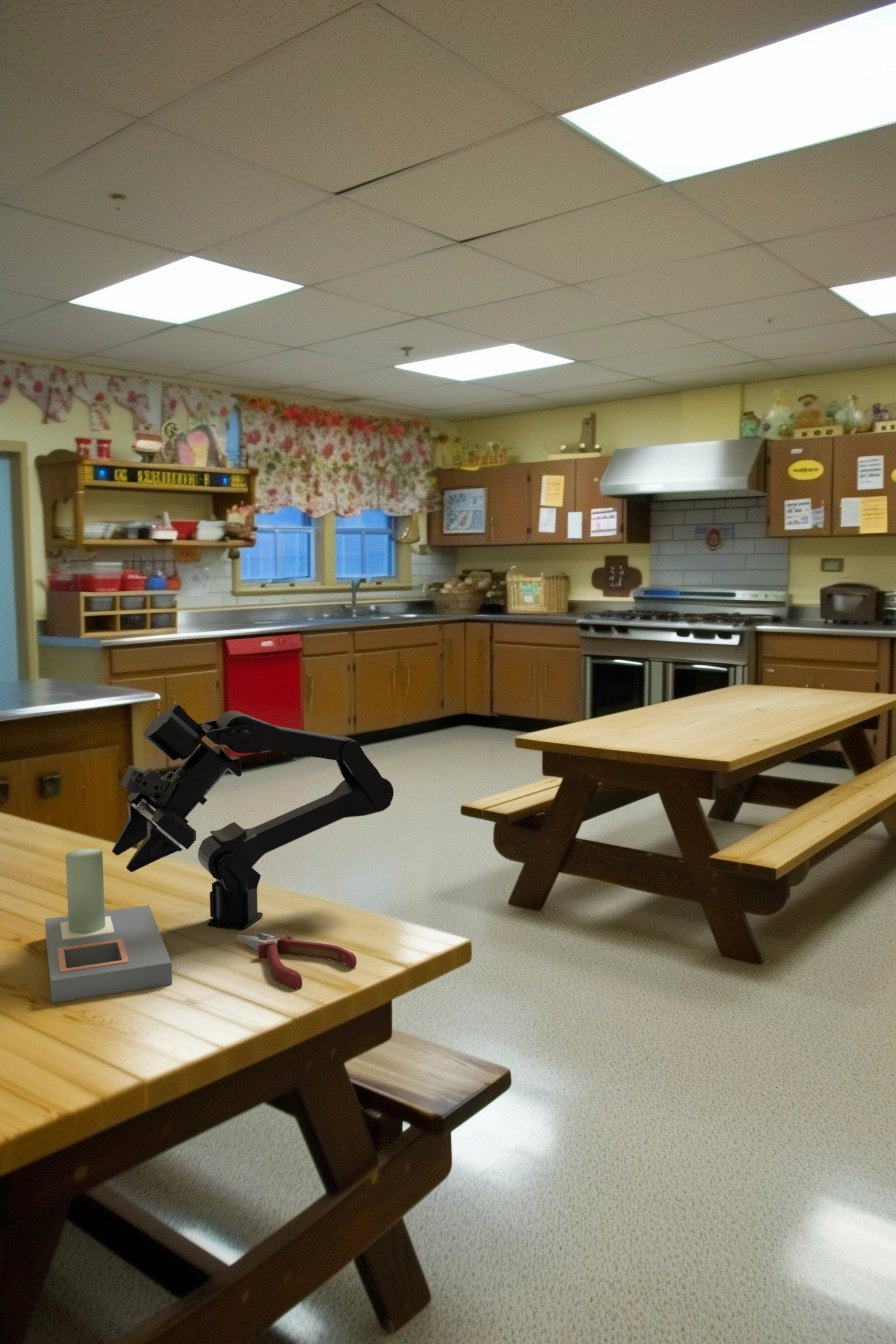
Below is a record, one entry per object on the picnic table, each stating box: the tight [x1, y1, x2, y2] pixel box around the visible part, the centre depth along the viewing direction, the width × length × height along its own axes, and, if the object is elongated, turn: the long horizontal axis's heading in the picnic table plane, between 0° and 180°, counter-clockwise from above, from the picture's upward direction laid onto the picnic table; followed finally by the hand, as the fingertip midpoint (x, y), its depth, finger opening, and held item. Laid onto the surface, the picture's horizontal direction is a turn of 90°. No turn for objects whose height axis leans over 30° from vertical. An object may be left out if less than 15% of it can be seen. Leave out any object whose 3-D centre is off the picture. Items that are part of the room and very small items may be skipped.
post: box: [65, 848, 106, 934], centre depth 147 cm, size 5×5×11 cm
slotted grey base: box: [44, 904, 173, 1004], centre depth 144 cm, size 24×15×3 cm, turn 23°
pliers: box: [236, 930, 358, 990], centre depth 145 cm, size 12×20×3 cm, turn 45°
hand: (121, 861), depth 149 cm, fingers open, 9 cm apart
